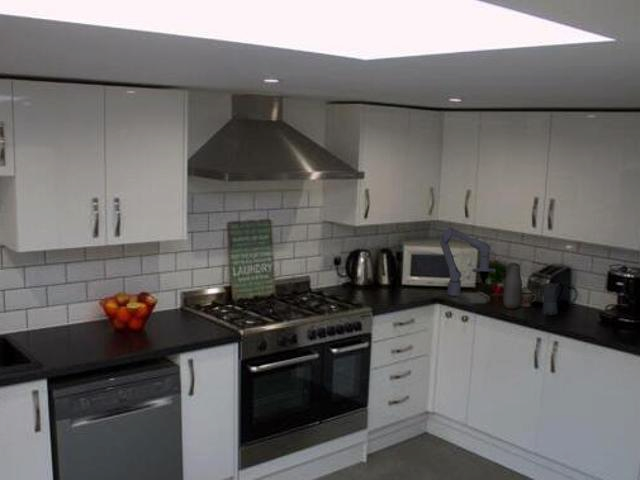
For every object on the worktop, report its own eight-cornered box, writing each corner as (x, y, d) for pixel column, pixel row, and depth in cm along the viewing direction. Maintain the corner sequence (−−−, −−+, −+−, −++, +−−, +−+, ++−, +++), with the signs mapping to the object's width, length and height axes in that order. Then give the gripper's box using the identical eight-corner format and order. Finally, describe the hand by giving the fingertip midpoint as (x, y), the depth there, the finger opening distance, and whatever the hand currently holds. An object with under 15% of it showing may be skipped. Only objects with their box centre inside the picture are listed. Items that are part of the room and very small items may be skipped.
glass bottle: (512, 306, 411) (515, 261, 407) (523, 310, 401) (526, 264, 397) (499, 307, 407) (502, 261, 403) (509, 311, 398) (512, 264, 394)
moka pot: (534, 312, 396) (536, 279, 394) (555, 310, 402) (557, 278, 399) (544, 316, 388) (547, 282, 385) (566, 314, 393) (568, 281, 390)
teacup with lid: (518, 307, 409) (520, 288, 407) (514, 303, 418) (515, 285, 416) (538, 307, 409) (539, 288, 408) (533, 303, 418) (534, 285, 417)
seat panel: (461, 296, 433) (461, 292, 433) (475, 296, 434) (476, 292, 434) (470, 303, 415) (470, 299, 415) (486, 303, 417) (486, 299, 416)
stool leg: (475, 295, 435) (476, 291, 435) (480, 295, 436) (480, 291, 435) (485, 301, 420) (485, 296, 420) (490, 301, 421) (490, 296, 420)
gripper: (475, 263, 425) (474, 284, 427) (497, 263, 426) (496, 284, 428) (472, 261, 432) (470, 282, 434) (493, 261, 433) (492, 282, 435)
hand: (483, 283), depth 431 cm, fingers closed
